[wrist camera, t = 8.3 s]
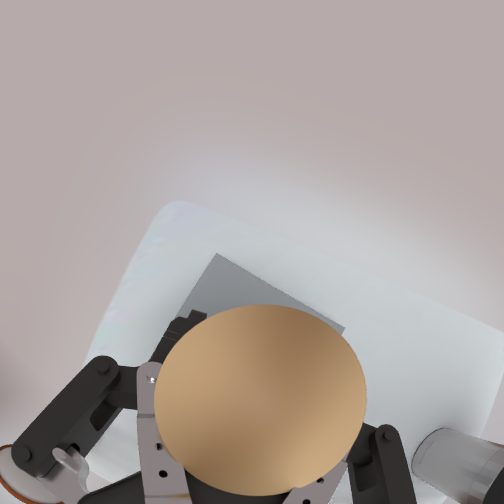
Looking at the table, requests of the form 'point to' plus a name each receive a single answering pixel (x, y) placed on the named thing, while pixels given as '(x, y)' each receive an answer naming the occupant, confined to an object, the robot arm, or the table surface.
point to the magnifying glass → (23, 482)
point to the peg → (260, 399)
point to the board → (238, 292)
